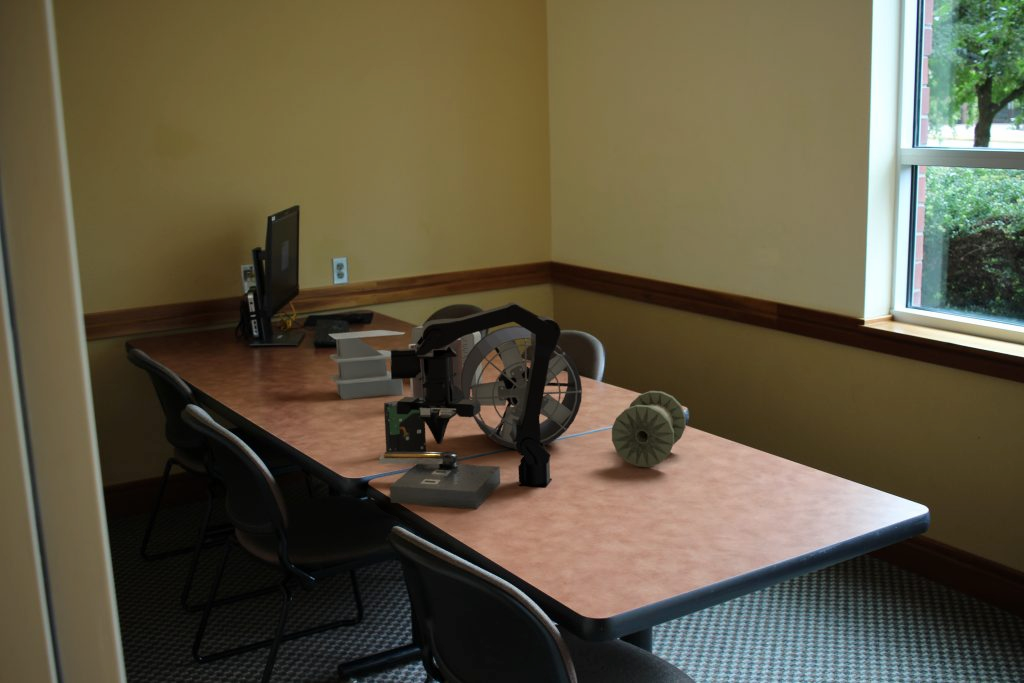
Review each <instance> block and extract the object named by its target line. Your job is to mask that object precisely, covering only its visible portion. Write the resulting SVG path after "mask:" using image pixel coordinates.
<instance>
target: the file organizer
mask: <svg viewBox="0 0 1024 683" xmlns="http://www.w3.org/2000/svg"><path fill="white" fill-rule="evenodd" d="M404 334H406V332H401V331H394V330H393V331H392V330H384V329H375V330H364V331H362V330H361V331H351V332H339V333H338V332H337V333H328V336H330V337H331V338H333V339H334V340H336V341H335V342H336V353H334V354H333V353H332V354H329V358H330V359H331V360H332V361H334V363H337V370H338V371H337V372H338V374H332V375H330V378H331V380H332V381H334V382H335V383H336V387H337V395H338V396H339V397H340V399H342V400H351V399H361V398H362V399H363V398H370V397H371V398H372V397H379V396H381V397H382V396H404V384H403V379H391V370H389V371H388V370H387V360H388V359H390V360H391V350H384V349H382V350H381V349H379V350H378V349H377V350H376V349H375V348H373V347H372V345H369V344H367V343H366V342H365V341H363V340H361V339H360V338H371V337H373V338H374V337H385V336H399V335H404Z"/></svg>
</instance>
